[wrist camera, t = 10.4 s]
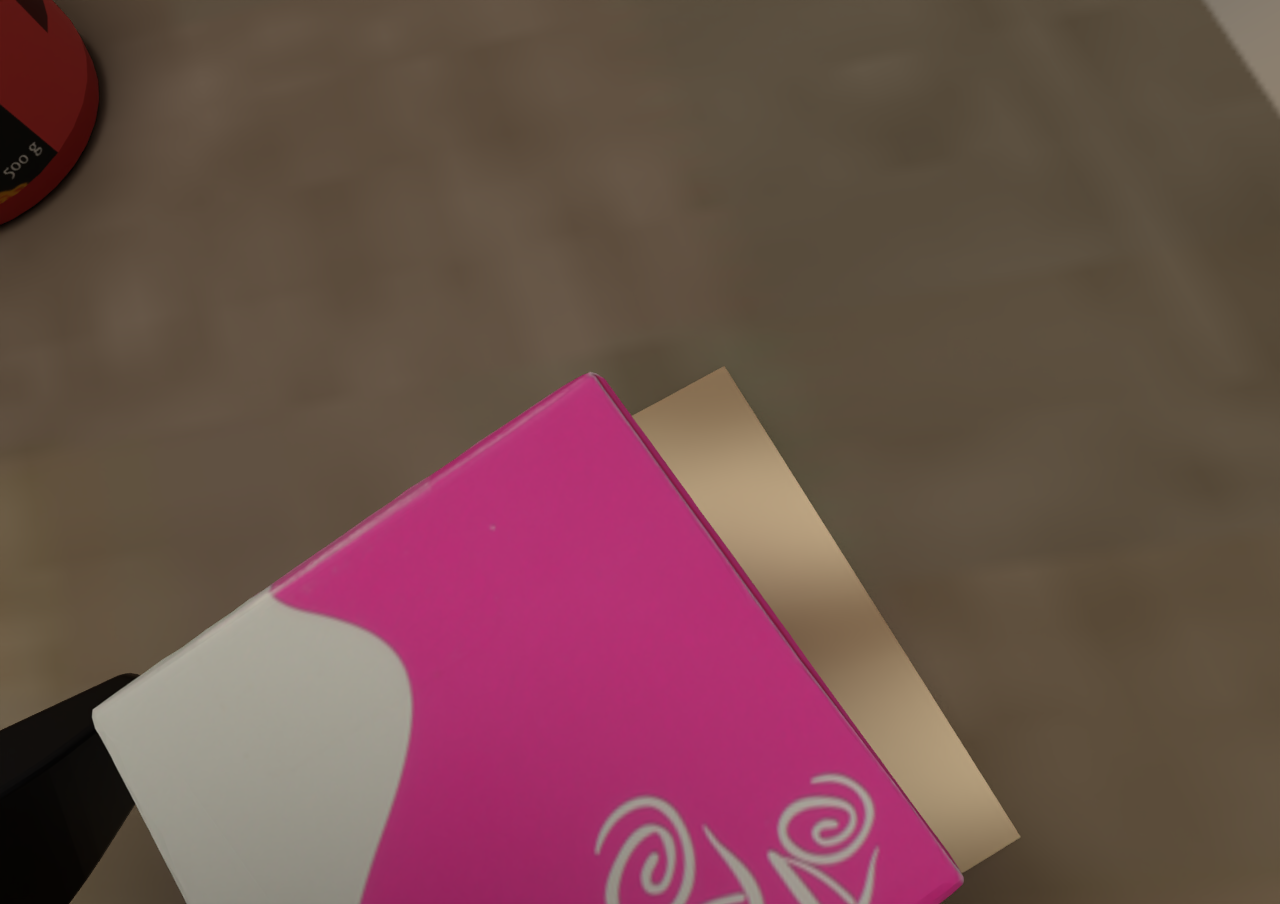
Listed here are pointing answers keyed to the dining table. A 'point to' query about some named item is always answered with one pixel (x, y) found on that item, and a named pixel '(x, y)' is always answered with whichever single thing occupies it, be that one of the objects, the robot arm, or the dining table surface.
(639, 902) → the supplement box
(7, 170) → the canned food
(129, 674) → the robot arm
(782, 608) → the oak board
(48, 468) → the dining table surface
